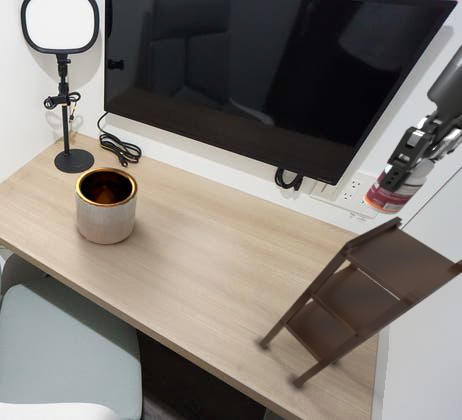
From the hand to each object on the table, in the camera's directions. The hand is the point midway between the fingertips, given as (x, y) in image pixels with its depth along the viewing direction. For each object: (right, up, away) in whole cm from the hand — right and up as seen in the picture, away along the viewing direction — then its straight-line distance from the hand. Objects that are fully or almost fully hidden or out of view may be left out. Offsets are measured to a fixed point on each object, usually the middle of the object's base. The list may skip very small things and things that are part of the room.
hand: (398, 183), depth 47 cm
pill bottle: (0, -3, +3) cm, 5 cm away
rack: (0, -35, +22) cm, 42 cm away
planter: (-41, -9, +51) cm, 66 cm away
